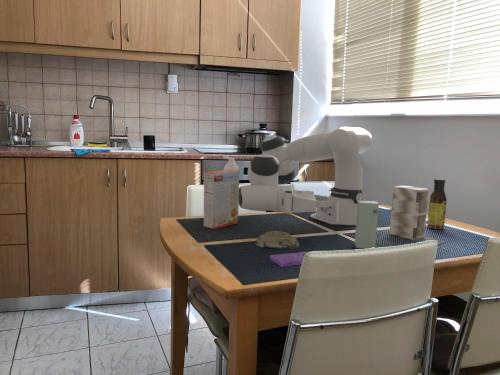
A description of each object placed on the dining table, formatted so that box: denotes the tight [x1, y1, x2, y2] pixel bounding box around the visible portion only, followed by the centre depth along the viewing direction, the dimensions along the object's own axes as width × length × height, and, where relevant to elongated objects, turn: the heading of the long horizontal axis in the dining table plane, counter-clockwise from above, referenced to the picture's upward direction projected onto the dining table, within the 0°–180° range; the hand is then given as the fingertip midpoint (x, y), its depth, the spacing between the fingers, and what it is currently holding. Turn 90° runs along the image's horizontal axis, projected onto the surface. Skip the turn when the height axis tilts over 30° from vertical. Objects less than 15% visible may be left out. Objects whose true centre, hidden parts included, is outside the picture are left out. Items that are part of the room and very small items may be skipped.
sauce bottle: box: [427, 178, 448, 231], centre depth 171 cm, size 7×6×20 cm
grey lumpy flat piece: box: [254, 230, 300, 251], centre depth 142 cm, size 15×4×15 cm
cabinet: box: [389, 184, 447, 246], centre depth 153 cm, size 18×10×18 cm, turn 40°
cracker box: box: [203, 169, 240, 230], centre depth 162 cm, size 14×6×21 cm, turn 141°
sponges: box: [269, 251, 308, 268], centre depth 124 cm, size 7×13×2 cm, turn 114°
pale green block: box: [354, 200, 380, 249], centre depth 140 cm, size 5×6×15 cm
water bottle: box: [222, 155, 240, 172], centre depth 178 cm, size 9×6×25 cm
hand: (329, 201), depth 140 cm, fingers open, 8 cm apart
